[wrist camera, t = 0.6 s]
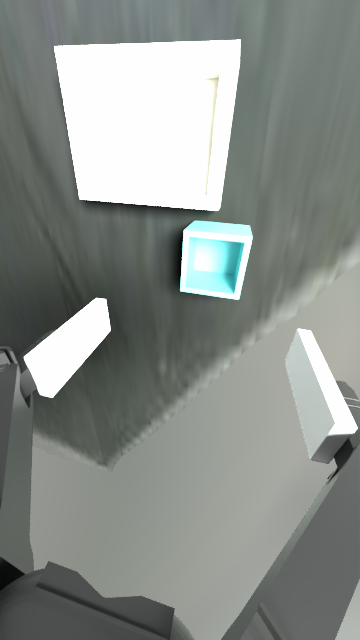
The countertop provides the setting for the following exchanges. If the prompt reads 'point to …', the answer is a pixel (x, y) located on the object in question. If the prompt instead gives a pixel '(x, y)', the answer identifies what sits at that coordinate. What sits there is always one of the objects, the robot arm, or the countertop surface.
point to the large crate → (150, 120)
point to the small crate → (215, 258)
